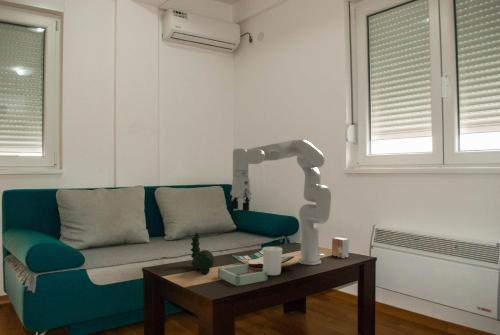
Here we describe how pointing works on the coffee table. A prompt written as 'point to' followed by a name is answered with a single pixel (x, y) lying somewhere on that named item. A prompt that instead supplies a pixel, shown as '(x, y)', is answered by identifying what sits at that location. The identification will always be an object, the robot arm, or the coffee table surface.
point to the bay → (232, 277)
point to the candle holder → (272, 260)
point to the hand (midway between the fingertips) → (240, 209)
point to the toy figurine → (201, 256)
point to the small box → (340, 247)
